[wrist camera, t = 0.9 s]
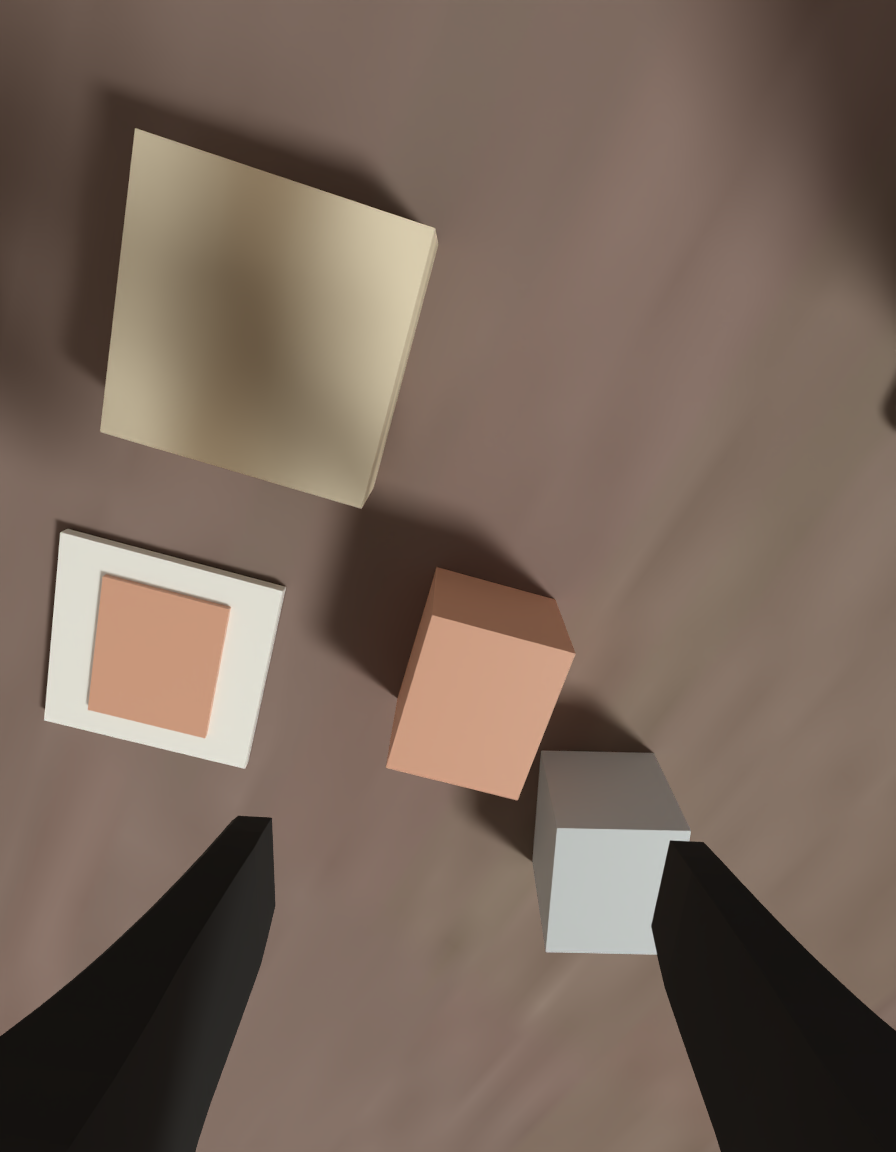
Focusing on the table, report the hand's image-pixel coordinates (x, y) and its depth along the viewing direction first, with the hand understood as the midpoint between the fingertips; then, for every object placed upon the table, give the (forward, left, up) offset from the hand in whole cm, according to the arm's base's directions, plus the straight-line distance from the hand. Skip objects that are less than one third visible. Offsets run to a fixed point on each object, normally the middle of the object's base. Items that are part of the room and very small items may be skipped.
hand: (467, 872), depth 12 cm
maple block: (+7, -7, -11) cm, 15 cm away
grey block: (-7, +6, -11) cm, 14 cm away
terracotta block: (-1, +1, -11) cm, 11 cm away
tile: (+9, +4, -10) cm, 15 cm away
